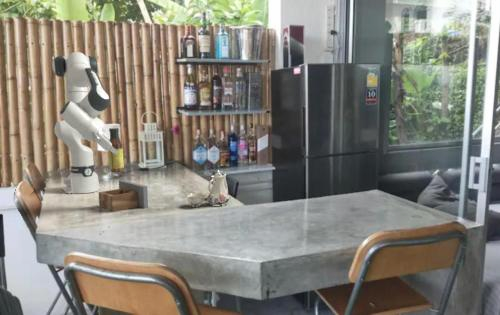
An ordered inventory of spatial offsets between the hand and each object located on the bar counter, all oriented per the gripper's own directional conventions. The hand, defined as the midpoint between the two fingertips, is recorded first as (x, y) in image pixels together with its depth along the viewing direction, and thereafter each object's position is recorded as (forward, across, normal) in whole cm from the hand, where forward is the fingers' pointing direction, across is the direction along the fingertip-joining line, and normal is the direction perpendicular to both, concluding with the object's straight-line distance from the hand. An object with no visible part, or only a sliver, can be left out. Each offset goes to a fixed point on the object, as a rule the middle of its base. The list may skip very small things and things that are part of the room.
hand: (117, 152), depth 195 cm
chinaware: (+48, -8, -12) cm, 50 cm away
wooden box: (+17, 0, +18) cm, 25 cm away
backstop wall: (+22, +3, +13) cm, 26 cm away
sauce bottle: (+6, 0, +7) cm, 9 cm away
